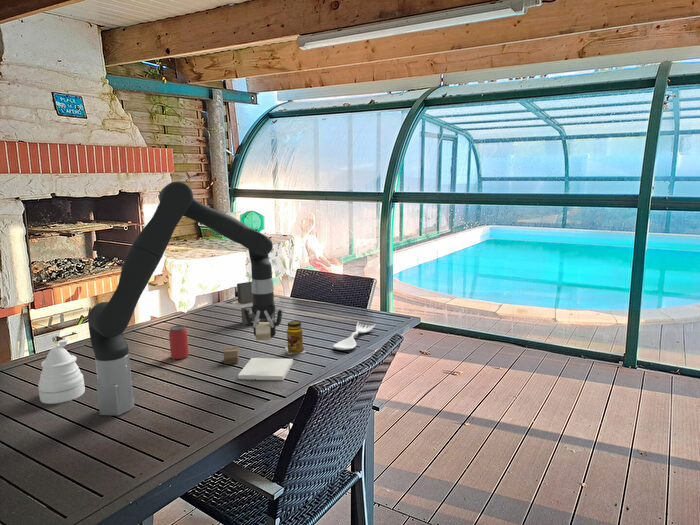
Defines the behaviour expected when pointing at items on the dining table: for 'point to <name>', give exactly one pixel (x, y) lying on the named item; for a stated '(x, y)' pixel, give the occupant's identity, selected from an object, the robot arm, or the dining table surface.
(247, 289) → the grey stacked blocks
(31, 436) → the dining table surface
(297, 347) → the condiment
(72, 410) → the dining table surface
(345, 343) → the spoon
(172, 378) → the dining table surface
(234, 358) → the walnut cube
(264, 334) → the birch cube
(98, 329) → the robot arm
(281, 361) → the stone board
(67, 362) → the honey pot
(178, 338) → the beer can
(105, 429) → the dining table surface
